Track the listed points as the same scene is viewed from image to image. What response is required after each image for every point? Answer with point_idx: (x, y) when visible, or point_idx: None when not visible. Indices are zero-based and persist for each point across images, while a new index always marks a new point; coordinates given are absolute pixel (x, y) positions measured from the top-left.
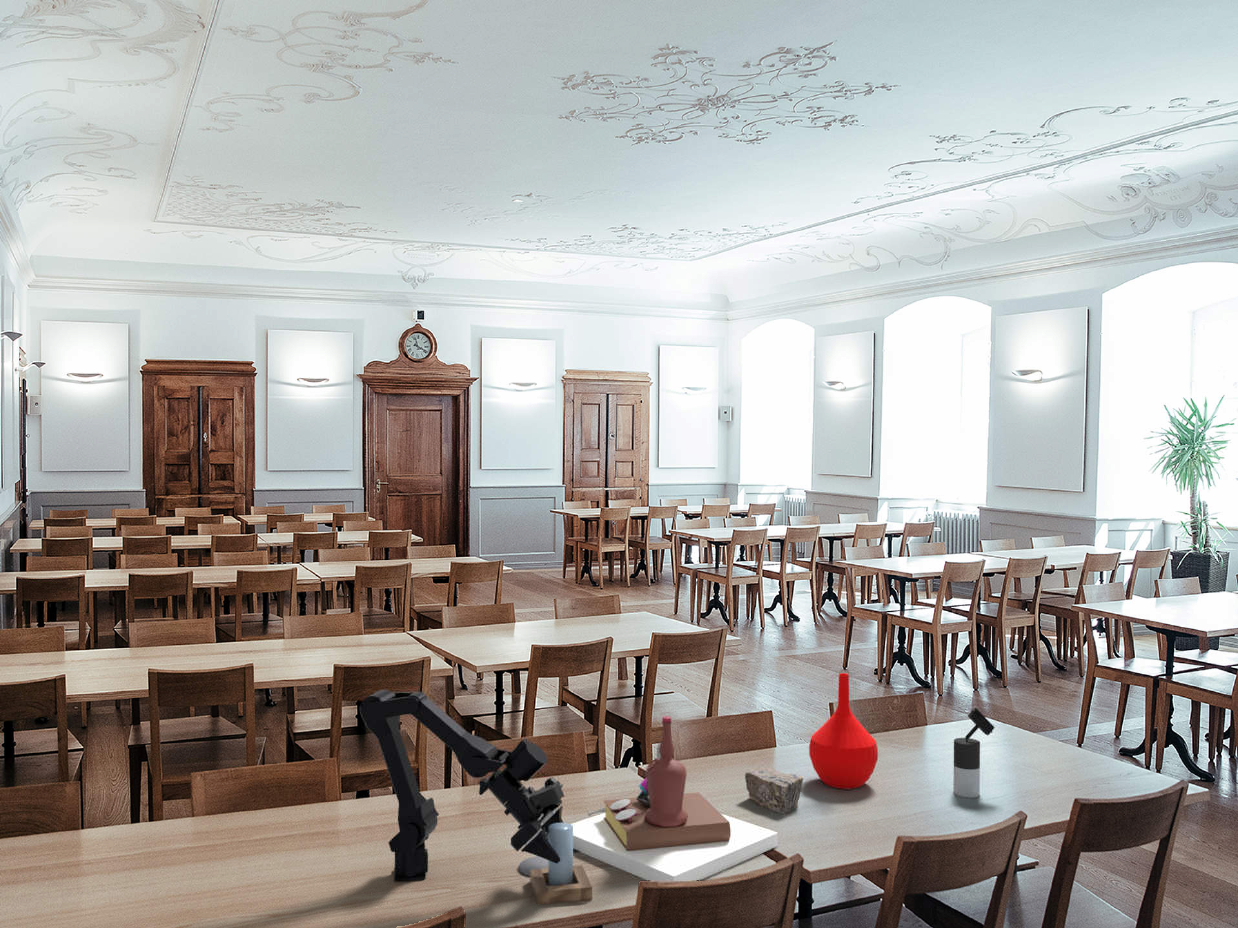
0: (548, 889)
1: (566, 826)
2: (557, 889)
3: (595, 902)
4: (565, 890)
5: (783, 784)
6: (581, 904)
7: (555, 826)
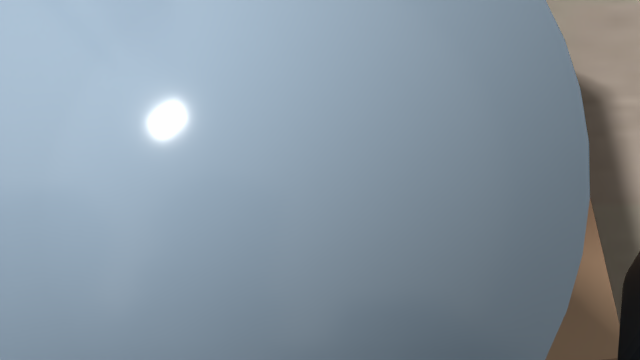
0: (598, 357)
1: (172, 7)
2: (593, 278)
3: (575, 26)
4: (591, 212)
5: None
6: (609, 114)
7: (127, 323)
